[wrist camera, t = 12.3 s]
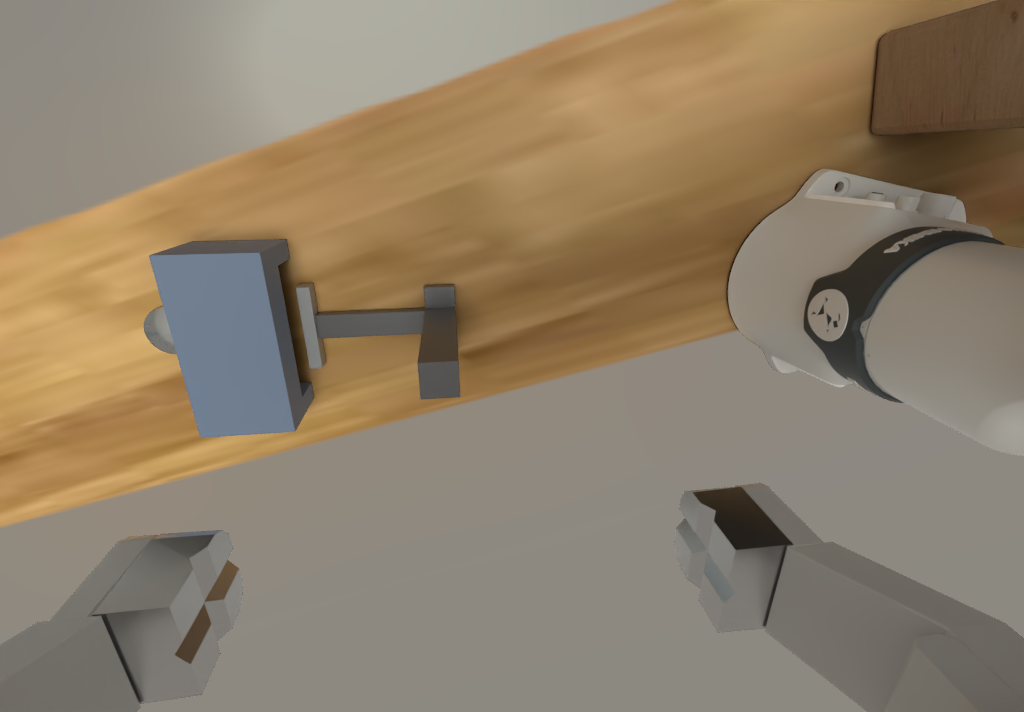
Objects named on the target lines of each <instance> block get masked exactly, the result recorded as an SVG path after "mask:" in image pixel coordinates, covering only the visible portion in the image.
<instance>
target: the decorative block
mask: <svg viewBox="0 0 1024 712" xmlns="http://www.w3.org/2000/svg"><path fill="white" fill-rule="evenodd" d="M1007 128H1024V0H997V1H993V2H990V3H987V4H983V5H980V6H976V7H973V8H969V9H966V10H962V11H959V12H955V13H952V14H948V15H945V16H941V17H938V18H934V19H931V20H927V21H924V22H921V23H917V24H914V25H910V26H907V27H903V28H900V29H896V30H893V31H890V32H889V33H887V34H886V35H884V36H883V37H882V38H881V40H880V42H879V49H878V60H877V71H876V82H875V93H874V104H873V115H872V126H871V129H872V132H873V133H875V134H878V135H895V134H914V133H933V132H951V131H970V130H988V129H1007Z"/></svg>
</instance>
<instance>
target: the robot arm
mask: <svg viewBox="0 0 1024 712" xmlns="http://www.w3.org/2000/svg"><path fill="white" fill-rule="evenodd" d="M836 183H837V184H838V187H837V189H836V190H835V189H834V187H835V185H836ZM728 303H729V309H730V313H731V316H732V318H733V321H734V323H735V324H736V326H737V328H738V329H739V331H740V332H741V333H742V334H743V335H744V336H745V337H746V338H747V339H748V340H750V341H751V342H753V343H754V344H755V345H757V346H758V347H759V348H761V349H762V350H763V352H764V354H765V356H766V359H767V361H768V363H769V364H770V366H771V367H772V368H773V369H774V370H776V371H778V372H780V373H784V374H787V373H792V372H796V371H802V372H804V373H806V374H808V375H811V376H813V377H815V378H817V379H819V380H821V381H823V382H826V383H828V384H830V385H832V386H835V387H844V386H845V385H852V384H854V385H855V386H857V387H858V388H860V389H862V390H864V391H866V392H868V393H871V394H873V395H878V396H880V397H882V398H884V399H887V400H890V401H894V402H898V403H899V402H900V403H906V404H907V405H909V406H911V407H913V408H915V409H917V410H919V411H921V412H923V413H924V414H927V415H928V416H930V417H932V418H934V419H936V420H937V421H939V422H941V423H943V424H945V425H947V426H949V427H950V428H952V429H954V430H956V431H958V432H960V433H962V434H964V435H965V436H967V437H969V438H971V439H973V440H975V441H977V442H979V443H980V444H983V445H984V446H986V447H988V448H991V449H993V450H996V451H1000V452H1004V453H1008V454H1013V455H1020V456H1024V248H1021V247H1014V246H1006V245H1005V244H1003V243H1002V242H1000V241H998V240H996V239H994V238H993V235H992V233H991V232H990V230H989V229H988V228H987V227H983V226H979V225H974V224H969V223H966V213H965V208H964V204H963V202H962V201H961V200H959V199H956V197H955V196H950V195H944V194H936V193H931V192H926V191H922V190H918V189H914V188H909V187H905V186H901V185H896V184H892V183H888V182H884V181H879V180H875V179H871V178H866V177H862V176H858V175H854V174H849V173H845V172H841V171H836V170H831V169H820V170H818V171H817V172H815V173H814V174H813V175H812V176H811V177H810V178H809V179H808V180H807V181H806V183H805V184H804V185H803V186H802V188H801V189H800V190H799V192H798V193H797V194H796V196H795V197H794V198H793V199H792V200H790V201H789V202H788V203H787V204H785V205H784V206H782V207H781V208H779V209H778V210H776V211H775V212H773V213H772V214H770V215H769V216H768V217H767V218H765V219H764V220H763V221H762V222H761V223H760V224H759V225H758V226H757V227H756V228H755V229H754V230H753V231H752V233H751V234H750V235H749V236H748V238H747V239H746V241H745V242H744V244H743V245H742V247H741V249H740V251H739V252H738V255H737V257H736V259H735V261H734V264H733V267H732V270H731V274H730V278H729V285H728ZM679 509H680V511H681V512H682V514H683V515H684V517H685V519H684V520H683V521H682V522H681V523H680V524H679V525H678V526H677V528H676V536H675V548H676V555H677V559H678V562H679V564H680V567H681V570H682V571H683V573H684V575H685V576H686V579H687V580H688V581H690V582H691V583H693V584H694V585H696V586H697V587H699V588H701V591H700V597H699V601H700V603H701V605H702V606H703V608H704V610H705V612H706V613H707V615H708V617H709V618H710V620H711V622H712V623H713V625H714V627H715V629H716V630H717V632H731V631H742V630H753V629H764V628H765V632H767V633H768V634H769V635H770V636H772V637H773V638H774V639H775V640H777V641H778V642H780V643H781V644H782V645H783V646H784V647H786V648H787V649H788V650H790V651H791V652H792V653H793V654H795V655H796V656H797V657H798V658H800V659H801V660H802V661H803V662H805V663H806V664H807V665H809V666H810V667H811V668H812V669H814V670H815V671H816V672H817V673H819V674H820V675H821V676H823V677H824V678H825V679H827V680H828V681H829V682H830V683H831V684H833V685H834V686H835V687H837V688H838V689H839V690H840V691H842V692H843V693H844V694H846V695H847V696H848V697H849V698H851V699H852V700H853V701H854V702H856V703H857V704H858V705H859V706H861V707H862V708H863V709H865V710H866V711H867V712H1024V638H1023V637H1022V636H1020V635H1019V634H1018V633H1017V632H1016V631H1014V630H1013V629H1012V628H1011V627H1009V626H1008V625H1007V624H1006V623H1004V622H1002V621H1000V620H998V619H995V618H993V617H991V616H989V615H987V614H985V613H983V612H981V611H978V610H976V609H974V608H972V607H969V606H967V605H966V604H963V603H961V602H959V601H957V600H955V599H953V598H951V597H948V596H947V595H944V594H942V593H940V592H938V591H936V590H934V589H932V588H930V587H927V586H925V585H923V584H921V583H919V582H917V581H915V580H912V579H910V578H908V577H906V576H904V575H902V574H899V573H898V572H895V571H893V570H891V569H889V568H886V567H885V566H883V565H880V564H878V563H876V562H874V561H872V560H870V559H868V558H866V557H864V556H861V555H859V554H857V553H855V552H853V551H851V550H849V549H846V548H844V547H842V546H840V545H838V544H836V543H834V542H823V541H822V540H821V539H820V538H819V537H818V536H817V535H816V534H815V533H814V532H813V531H812V530H811V529H810V528H809V527H808V526H807V525H806V524H805V523H804V522H803V521H802V520H801V519H800V518H799V517H798V516H797V515H796V514H795V513H794V512H793V511H792V510H791V509H790V508H789V507H788V506H787V505H786V504H785V503H784V502H783V501H782V500H781V499H780V498H779V497H778V496H777V495H776V494H775V493H774V492H773V491H772V490H771V489H770V488H769V487H768V486H766V485H764V484H762V483H756V484H748V485H738V486H735V487H724V488H714V489H703V490H691V491H685V492H684V494H683V495H682V497H681V501H680V507H679ZM232 551H233V545H232V542H231V539H230V536H229V533H227V532H225V531H223V530H216V531H201V532H186V533H185V532H184V533H168V534H160V535H144V536H131V537H127V538H125V539H122V540H120V541H119V542H117V543H116V544H115V546H114V547H113V548H112V549H111V550H110V551H109V552H108V554H107V555H106V556H105V557H104V558H103V559H102V561H101V562H100V563H99V564H98V565H97V566H96V567H95V569H94V570H93V571H92V572H91V573H90V574H89V575H88V577H87V578H86V579H85V580H84V581H83V582H82V584H81V585H80V586H79V587H78V588H77V589H76V590H75V592H74V593H73V594H72V595H71V596H70V598H69V599H68V600H67V601H66V602H65V603H64V604H63V605H62V607H61V608H60V609H59V610H58V611H57V612H56V614H55V615H54V616H53V617H52V618H51V619H50V621H43V622H37V623H35V624H33V625H32V626H30V627H28V628H27V629H25V630H24V631H22V632H20V633H19V634H17V635H16V636H14V637H12V638H11V639H9V640H7V641H5V642H4V643H2V644H1V645H0V712H137V710H139V709H140V704H144V703H151V702H157V701H164V700H170V699H177V698H183V697H191V696H197V695H202V693H203V690H204V689H205V687H206V684H207V682H208V680H209V678H210V676H211V674H212V671H213V669H214V667H215V665H216V663H217V661H218V658H219V656H220V654H221V653H220V650H219V646H218V643H217V641H218V640H219V639H220V638H222V637H223V636H224V635H225V634H226V633H227V632H229V631H230V630H231V629H232V628H233V626H234V623H235V621H236V618H237V616H238V614H239V611H240V605H241V601H242V595H243V586H242V577H241V573H240V569H239V568H238V567H236V566H235V565H234V564H232V563H231V562H230V561H228V558H229V556H230V554H231V552H232Z"/></svg>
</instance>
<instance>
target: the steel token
mask: <svg viewBox="0 0 1024 712" xmlns="http://www.w3.org/2000/svg"><path fill="white" fill-rule="evenodd" d="M144 331H145V334H146V336H147V338H148V340H149V341H150V342H151V343H152V344H153V345H154V346H155V347H156V348H158V349H160V350H161V351H164V352H167V353H170V354H177V353H176V350H175V346H174V342H173V339H172V335H171V332H170V328H169V325H168V321H167V318H166V314H165V311H164V307H163V306H161V307H159V308H157V309H155V310H153V311H152V312H150V313H149V314H148V315H147V317H146V319H145V321H144Z"/></svg>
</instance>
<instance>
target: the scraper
mask: <svg viewBox="0 0 1024 712" xmlns="http://www.w3.org/2000/svg"><path fill="white" fill-rule="evenodd" d="M296 293H297V298H298V304H299V310H300V315H301V321H302V327H303V332H304V338H305V344H306V349H307V355H308V360H309V366H310V369H315V368H323V366H324V364H325V363H326V357H325V351H324V345H323V339H322V338H340V337H361V336H383V335H404V334H422V336H421V343H420V350H419V357H418V373H419V384H420V396H421V399H435V398H452V397H460V382H459V363H458V345H457V328H456V311H455V292H454V284H440V285H424V295H425V308H408V309H384V310H359V311H334V312H318V308H317V302H316V295H315V289H314V283H301V284H300V285H298V286H297V287H296Z"/></svg>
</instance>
